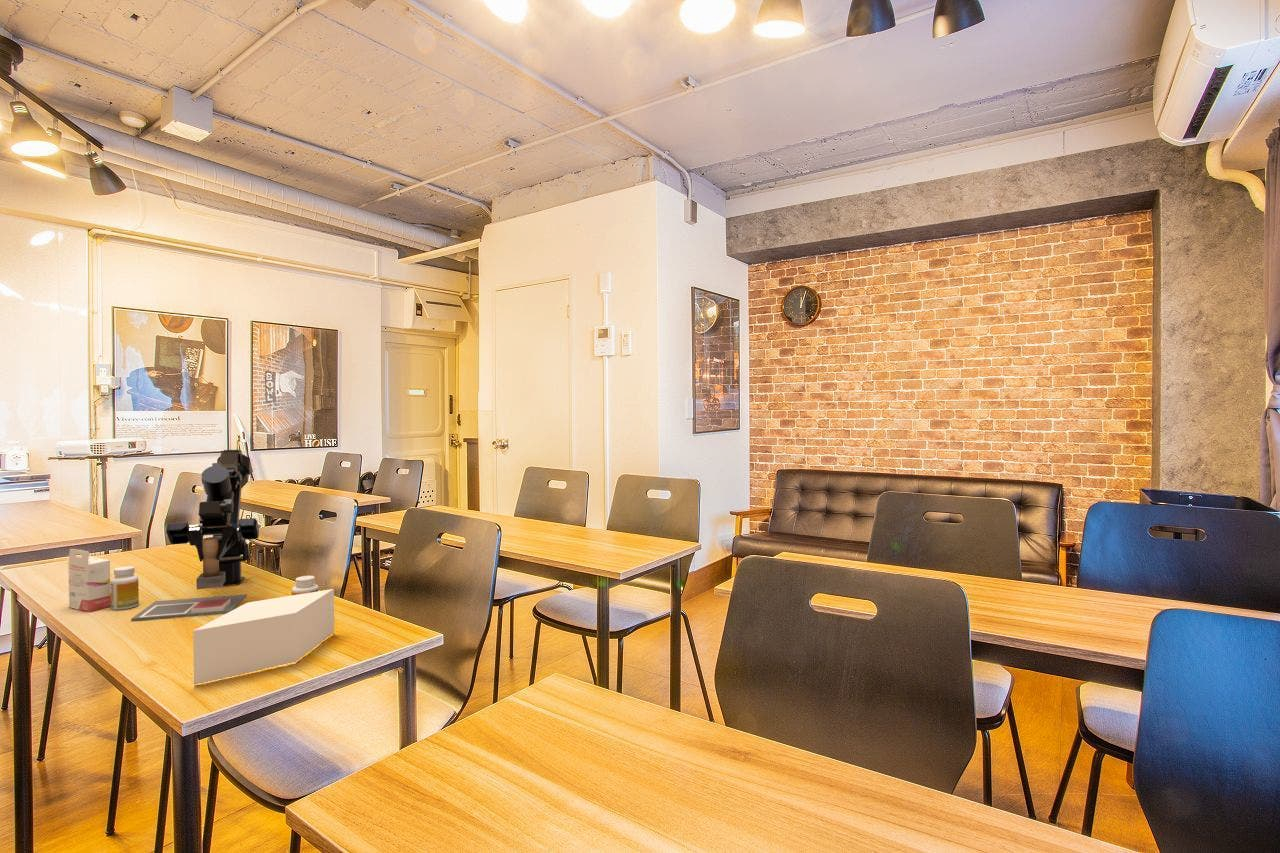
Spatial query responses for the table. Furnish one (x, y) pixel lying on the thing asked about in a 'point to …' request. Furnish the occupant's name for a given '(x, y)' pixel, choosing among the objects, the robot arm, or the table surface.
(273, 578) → the table surface
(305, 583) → the supplement bottle
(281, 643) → the cream slanted prism
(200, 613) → the stamp board
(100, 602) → the ink cartridge box
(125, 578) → the supplement bottle
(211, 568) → the stamp
